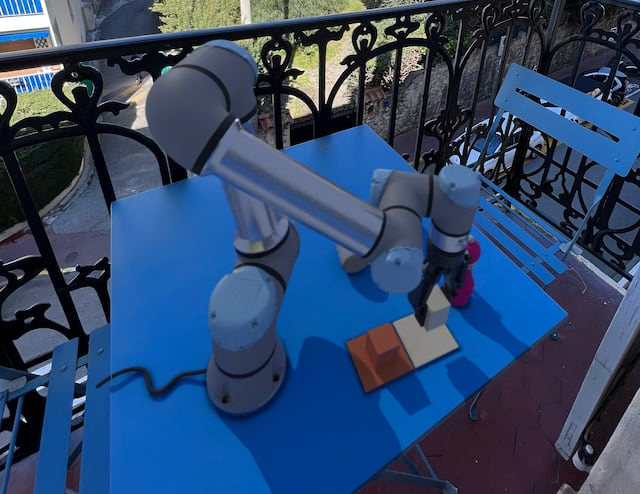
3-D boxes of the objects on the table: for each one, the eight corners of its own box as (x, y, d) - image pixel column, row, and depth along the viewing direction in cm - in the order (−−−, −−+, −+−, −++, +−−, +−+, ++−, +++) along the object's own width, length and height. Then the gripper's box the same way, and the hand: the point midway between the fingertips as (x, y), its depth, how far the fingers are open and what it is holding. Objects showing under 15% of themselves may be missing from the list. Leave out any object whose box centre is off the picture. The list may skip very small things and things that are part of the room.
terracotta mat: (365, 393, 79) (365, 391, 79) (346, 343, 87) (346, 342, 87) (413, 369, 83) (413, 368, 83) (390, 324, 91) (391, 323, 91)
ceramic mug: (341, 278, 101) (344, 256, 98) (333, 251, 108) (335, 230, 105) (381, 269, 104) (384, 248, 101) (371, 244, 111) (374, 223, 108)
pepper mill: (435, 285, 101) (448, 227, 93) (459, 278, 104) (474, 220, 95) (450, 312, 95) (466, 253, 87) (476, 303, 98) (494, 245, 89)
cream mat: (415, 368, 84) (416, 367, 83) (392, 323, 92) (393, 322, 91) (458, 347, 88) (458, 346, 88) (433, 306, 96) (433, 305, 96)
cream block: (426, 332, 84) (430, 313, 81) (414, 310, 88) (417, 292, 86) (446, 323, 86) (451, 305, 83) (433, 302, 90) (437, 284, 88)
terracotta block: (375, 372, 82) (378, 355, 79) (365, 348, 86) (367, 331, 83) (396, 362, 84) (400, 345, 81) (385, 339, 88) (388, 322, 85)
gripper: (417, 269, 70) (402, 349, 80) (497, 239, 78) (474, 316, 87) (397, 237, 77) (385, 315, 86) (472, 212, 84) (453, 286, 94)
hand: (430, 315), depth 87 cm, fingers closed on cream block, 5 cm apart
